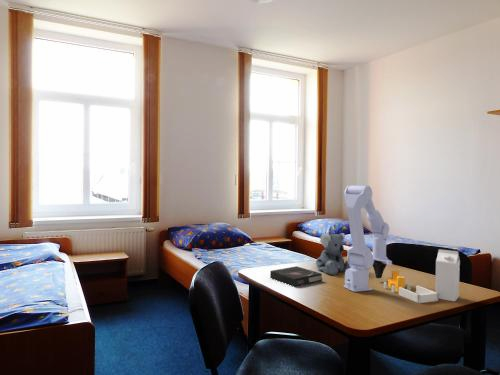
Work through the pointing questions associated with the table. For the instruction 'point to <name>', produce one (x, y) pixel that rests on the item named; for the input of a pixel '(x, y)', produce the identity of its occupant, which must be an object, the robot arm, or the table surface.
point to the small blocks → (385, 285)
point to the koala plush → (332, 254)
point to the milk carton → (447, 275)
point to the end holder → (424, 295)
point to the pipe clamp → (396, 281)
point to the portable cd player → (296, 276)
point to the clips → (407, 287)
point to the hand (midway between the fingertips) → (378, 277)
